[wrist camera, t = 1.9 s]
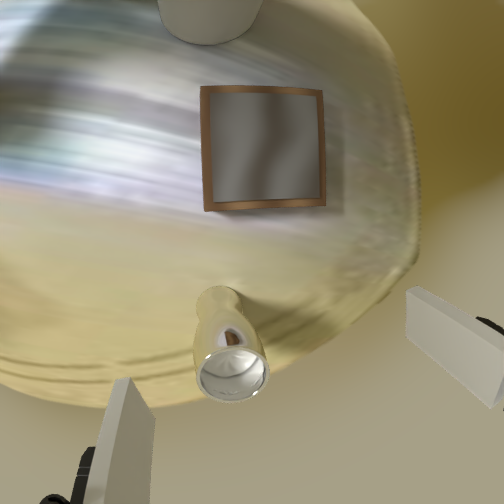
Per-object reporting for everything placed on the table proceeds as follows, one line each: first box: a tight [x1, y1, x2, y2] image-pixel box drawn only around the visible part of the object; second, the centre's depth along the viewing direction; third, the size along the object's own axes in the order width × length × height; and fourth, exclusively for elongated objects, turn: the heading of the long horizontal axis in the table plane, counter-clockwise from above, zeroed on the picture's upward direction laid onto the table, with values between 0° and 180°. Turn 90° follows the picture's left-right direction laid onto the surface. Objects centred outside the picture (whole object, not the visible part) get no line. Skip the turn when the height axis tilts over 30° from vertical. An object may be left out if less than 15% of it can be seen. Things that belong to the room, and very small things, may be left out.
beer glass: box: [193, 286, 270, 403], centre depth 32 cm, size 7×7×15 cm
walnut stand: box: [200, 85, 326, 212], centre depth 33 cm, size 14×14×4 cm
